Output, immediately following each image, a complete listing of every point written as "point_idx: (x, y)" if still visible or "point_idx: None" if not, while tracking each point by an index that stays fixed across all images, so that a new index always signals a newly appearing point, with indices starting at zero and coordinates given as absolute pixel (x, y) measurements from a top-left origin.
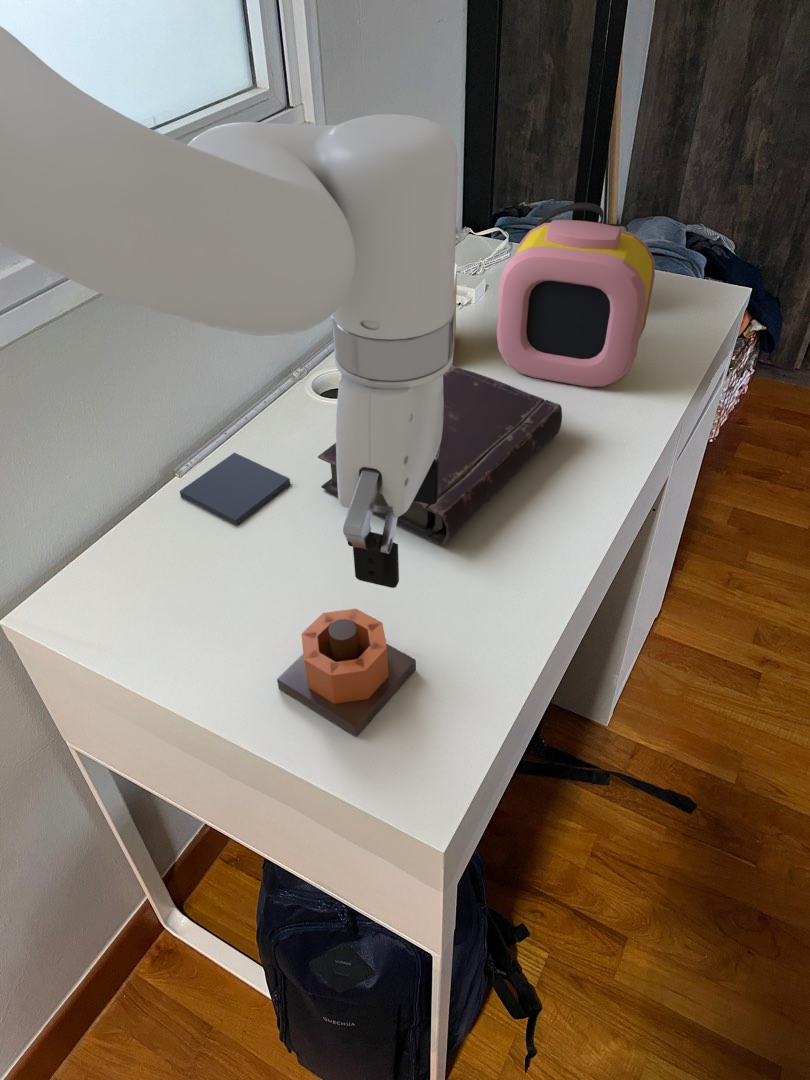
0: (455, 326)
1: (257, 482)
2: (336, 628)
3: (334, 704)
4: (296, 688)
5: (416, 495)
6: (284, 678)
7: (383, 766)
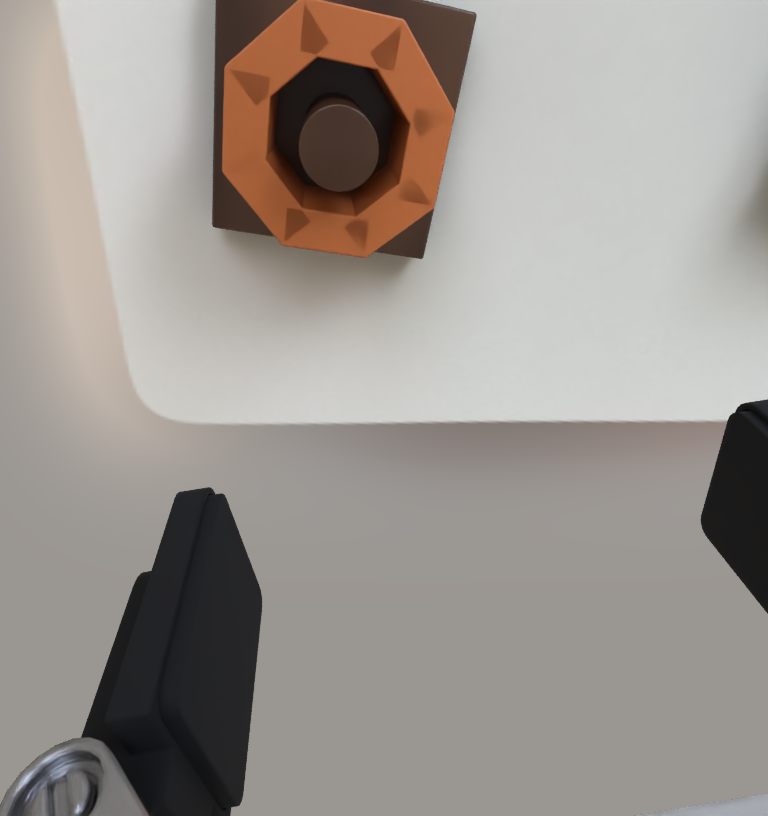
0: None
1: None
2: (333, 130)
3: None
4: (223, 31)
5: (734, 493)
6: None
7: (197, 292)
